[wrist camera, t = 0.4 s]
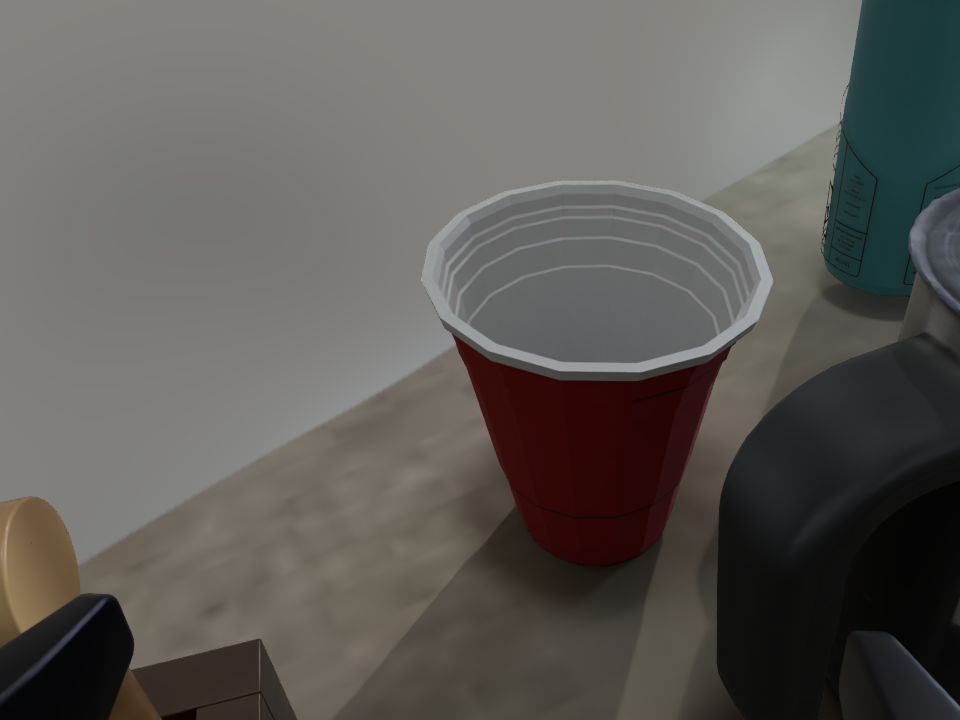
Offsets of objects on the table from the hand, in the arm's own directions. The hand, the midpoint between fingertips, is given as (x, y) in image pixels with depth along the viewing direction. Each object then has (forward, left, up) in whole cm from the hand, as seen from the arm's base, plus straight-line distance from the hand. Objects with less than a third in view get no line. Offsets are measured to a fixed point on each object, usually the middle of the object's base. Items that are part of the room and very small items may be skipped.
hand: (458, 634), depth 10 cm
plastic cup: (+17, 0, -17) cm, 24 cm away
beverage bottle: (+34, -13, -17) cm, 40 cm away
